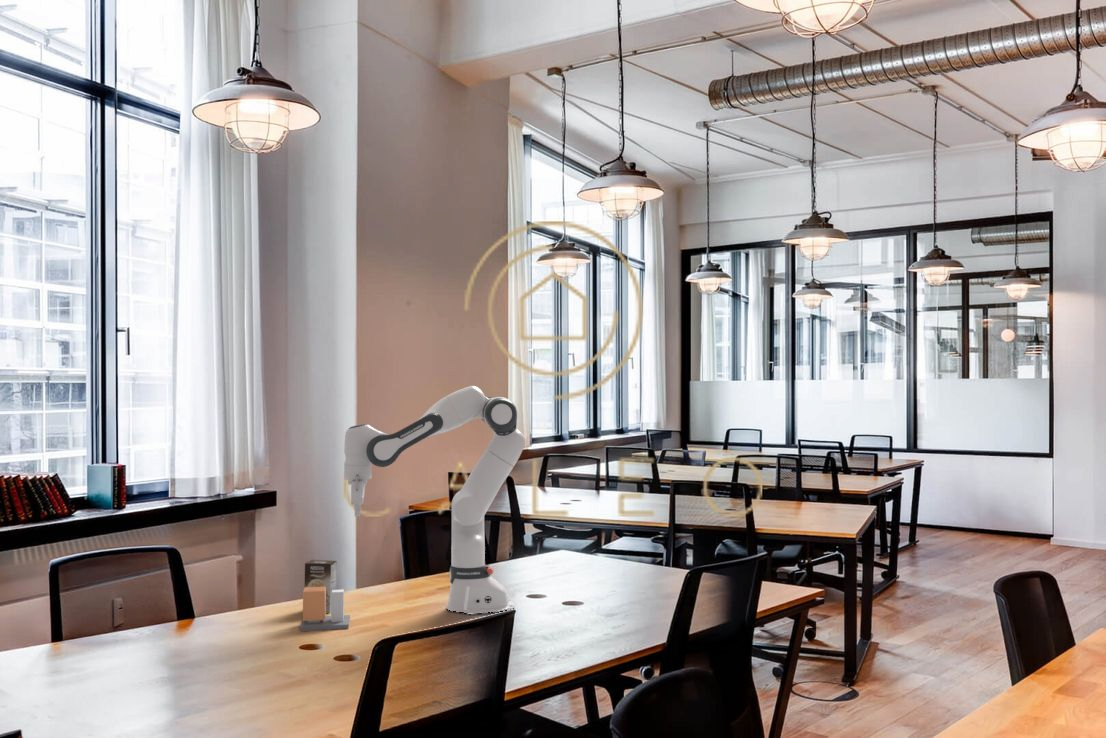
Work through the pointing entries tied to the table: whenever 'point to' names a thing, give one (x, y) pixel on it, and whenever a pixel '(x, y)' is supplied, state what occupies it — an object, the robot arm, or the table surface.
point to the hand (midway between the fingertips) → (357, 516)
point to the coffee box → (322, 577)
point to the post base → (336, 618)
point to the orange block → (314, 603)
